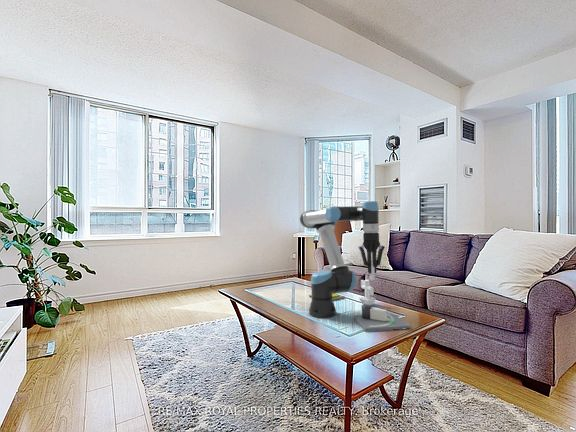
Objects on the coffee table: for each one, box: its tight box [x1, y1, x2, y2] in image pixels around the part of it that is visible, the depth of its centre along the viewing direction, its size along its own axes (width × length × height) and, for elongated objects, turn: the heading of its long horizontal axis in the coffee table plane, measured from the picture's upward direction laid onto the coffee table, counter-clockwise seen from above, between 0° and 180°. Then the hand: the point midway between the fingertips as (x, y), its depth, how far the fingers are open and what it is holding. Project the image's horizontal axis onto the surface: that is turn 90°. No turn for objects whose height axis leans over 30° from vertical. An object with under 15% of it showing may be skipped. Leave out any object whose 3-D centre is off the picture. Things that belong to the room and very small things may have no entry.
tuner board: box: [352, 313, 411, 333], centre depth 151 cm, size 22×18×2 cm
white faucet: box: [358, 279, 377, 306], centre depth 185 cm, size 7×9×15 cm
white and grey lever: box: [361, 304, 390, 321], centre depth 153 cm, size 14×5×6 cm, turn 56°
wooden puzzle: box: [308, 293, 346, 301], centre depth 204 cm, size 18×19×4 cm
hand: (372, 279), depth 149 cm, fingers closed
